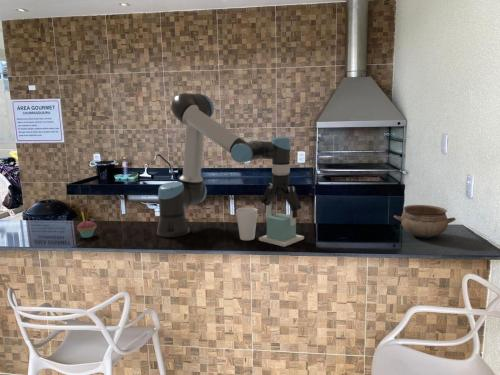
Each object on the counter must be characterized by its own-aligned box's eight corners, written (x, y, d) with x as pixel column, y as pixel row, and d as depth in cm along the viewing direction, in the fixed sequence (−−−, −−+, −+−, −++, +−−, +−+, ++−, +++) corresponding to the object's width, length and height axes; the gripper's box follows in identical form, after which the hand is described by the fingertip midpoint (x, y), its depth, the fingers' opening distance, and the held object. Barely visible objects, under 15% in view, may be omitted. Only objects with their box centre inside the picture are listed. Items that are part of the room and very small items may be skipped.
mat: (258, 240, 177) (258, 237, 176) (279, 233, 187) (279, 230, 186) (284, 246, 167) (284, 243, 167) (303, 238, 177) (303, 236, 177)
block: (266, 237, 176) (266, 217, 175) (279, 232, 183) (279, 213, 181) (283, 241, 170) (282, 220, 169) (295, 236, 177) (295, 216, 175)
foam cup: (232, 238, 181) (231, 209, 178) (248, 233, 186) (247, 206, 184) (246, 242, 173) (245, 213, 171) (262, 238, 179) (261, 209, 177)
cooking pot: (394, 241, 171) (396, 213, 169) (391, 229, 189) (392, 203, 187) (459, 244, 165) (461, 215, 163) (449, 231, 183) (451, 205, 181)
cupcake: (73, 238, 186) (71, 212, 183) (86, 233, 193) (83, 208, 191) (89, 239, 183) (86, 213, 181) (101, 234, 191) (99, 209, 189)
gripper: (310, 175, 166) (309, 225, 170) (264, 170, 183) (264, 215, 187) (299, 178, 161) (298, 229, 165) (253, 171, 177) (253, 218, 181)
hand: (280, 222), depth 176 cm, fingers open, 13 cm apart
